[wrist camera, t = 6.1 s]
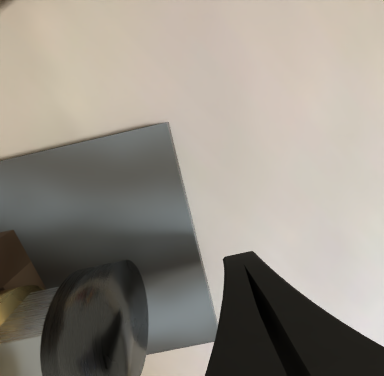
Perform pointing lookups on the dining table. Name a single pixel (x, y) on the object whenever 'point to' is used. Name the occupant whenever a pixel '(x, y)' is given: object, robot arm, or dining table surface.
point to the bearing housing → (109, 226)
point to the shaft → (77, 325)
